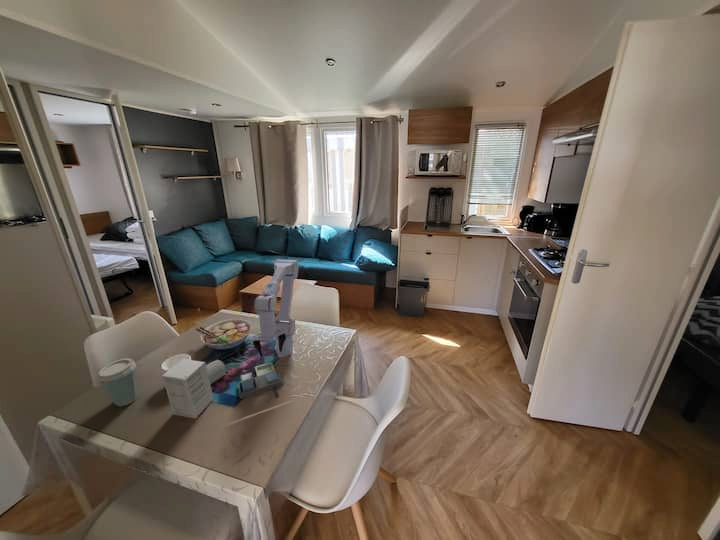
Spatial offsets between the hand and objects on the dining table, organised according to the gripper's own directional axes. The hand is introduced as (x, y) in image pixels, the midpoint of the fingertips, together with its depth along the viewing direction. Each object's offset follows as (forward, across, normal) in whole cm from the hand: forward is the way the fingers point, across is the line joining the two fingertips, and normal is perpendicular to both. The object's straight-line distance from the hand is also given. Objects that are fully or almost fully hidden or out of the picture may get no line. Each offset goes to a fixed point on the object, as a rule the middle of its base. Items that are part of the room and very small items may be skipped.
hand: (271, 353), depth 113 cm
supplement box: (+10, -29, -5) cm, 31 cm away
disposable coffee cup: (+10, -51, +10) cm, 53 cm away
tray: (+10, -3, +2) cm, 10 cm away
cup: (+10, -34, +12) cm, 37 cm away
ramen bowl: (+10, -15, +31) cm, 36 cm away
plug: (+9, -10, -6) cm, 15 cm away
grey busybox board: (+10, -6, -9) cm, 15 cm away
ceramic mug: (+10, -23, +8) cm, 27 cm away
